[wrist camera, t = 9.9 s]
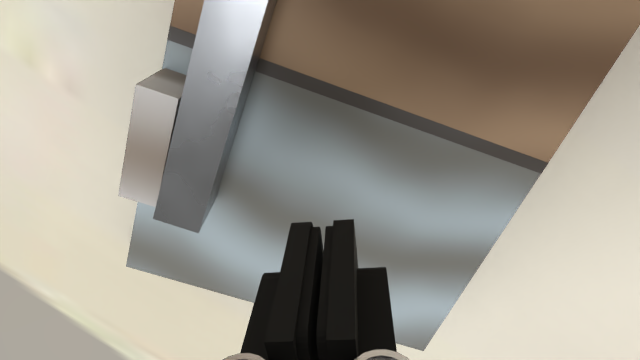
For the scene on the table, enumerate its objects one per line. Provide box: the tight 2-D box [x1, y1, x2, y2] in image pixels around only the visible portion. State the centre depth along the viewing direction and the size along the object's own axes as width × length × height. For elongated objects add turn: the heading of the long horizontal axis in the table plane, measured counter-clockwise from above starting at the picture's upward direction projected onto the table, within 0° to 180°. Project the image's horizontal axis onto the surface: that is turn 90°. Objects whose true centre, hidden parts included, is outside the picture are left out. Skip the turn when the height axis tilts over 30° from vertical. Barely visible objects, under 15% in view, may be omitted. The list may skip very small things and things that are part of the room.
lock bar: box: [153, 0, 277, 233], centre depth 16 cm, size 14×3×3 cm, turn 159°
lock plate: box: [118, 0, 640, 351], centre depth 19 cm, size 22×18×4 cm
